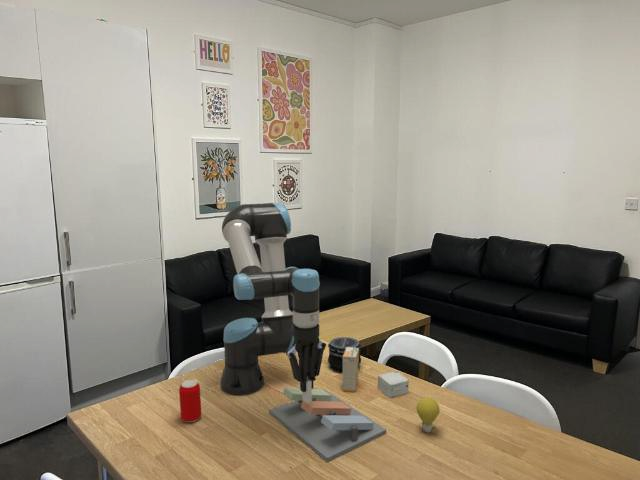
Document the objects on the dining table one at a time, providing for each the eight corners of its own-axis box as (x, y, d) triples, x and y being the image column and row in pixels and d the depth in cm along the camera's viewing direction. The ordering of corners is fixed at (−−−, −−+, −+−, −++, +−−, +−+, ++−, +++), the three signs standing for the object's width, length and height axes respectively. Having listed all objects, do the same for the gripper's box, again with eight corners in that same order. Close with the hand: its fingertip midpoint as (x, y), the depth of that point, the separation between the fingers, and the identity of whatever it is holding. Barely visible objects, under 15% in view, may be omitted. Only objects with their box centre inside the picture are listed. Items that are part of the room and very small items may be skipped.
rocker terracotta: (299, 408, 143) (301, 400, 143) (338, 409, 153) (340, 401, 153) (310, 416, 138) (312, 408, 138) (350, 416, 148) (352, 408, 148)
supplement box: (355, 392, 164) (356, 357, 162) (342, 391, 165) (342, 356, 163) (358, 381, 172) (359, 347, 170) (345, 380, 173) (345, 346, 171)
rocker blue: (319, 423, 135) (322, 414, 135) (359, 423, 145) (361, 415, 145) (331, 432, 131) (334, 423, 131) (372, 431, 140) (374, 423, 140)
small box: (389, 398, 161) (390, 384, 160) (377, 388, 168) (377, 374, 167) (408, 393, 164) (409, 379, 163) (395, 383, 171) (396, 370, 170)
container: (324, 361, 189) (324, 337, 187) (355, 358, 192) (355, 334, 190) (332, 376, 177) (332, 350, 175) (365, 372, 180) (366, 347, 178)
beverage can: (205, 416, 150) (203, 380, 148) (192, 426, 145) (190, 389, 143) (190, 411, 153) (188, 376, 151) (176, 421, 147) (174, 385, 145)
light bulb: (439, 425, 145) (441, 395, 143) (437, 438, 139) (438, 406, 137) (417, 421, 147) (418, 391, 145) (414, 433, 141) (415, 402, 139)
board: (269, 413, 152) (269, 398, 151) (324, 392, 165) (324, 378, 164) (327, 462, 128) (327, 444, 127) (386, 433, 141) (386, 417, 140)
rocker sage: (281, 394, 151) (283, 387, 151) (319, 396, 161) (321, 389, 161) (291, 402, 146) (293, 394, 146) (330, 403, 156) (332, 395, 156)
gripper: (294, 332, 129) (295, 413, 133) (332, 322, 137) (332, 398, 141) (279, 325, 135) (281, 402, 139) (316, 315, 143) (317, 388, 147)
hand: (307, 400), depth 140 cm, fingers closed
